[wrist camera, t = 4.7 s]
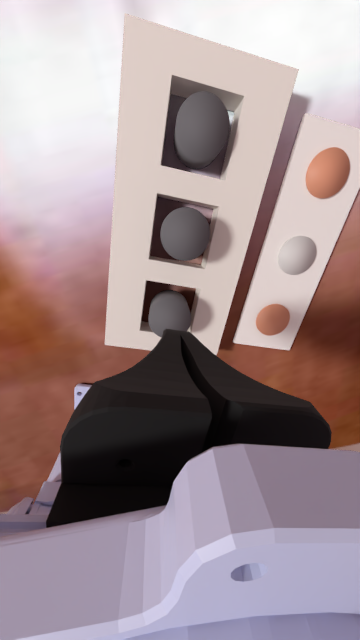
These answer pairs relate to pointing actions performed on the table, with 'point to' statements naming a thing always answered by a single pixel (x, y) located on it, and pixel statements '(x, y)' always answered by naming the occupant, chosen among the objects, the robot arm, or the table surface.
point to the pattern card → (301, 231)
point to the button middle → (185, 233)
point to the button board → (187, 173)
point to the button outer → (200, 129)
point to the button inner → (169, 312)
